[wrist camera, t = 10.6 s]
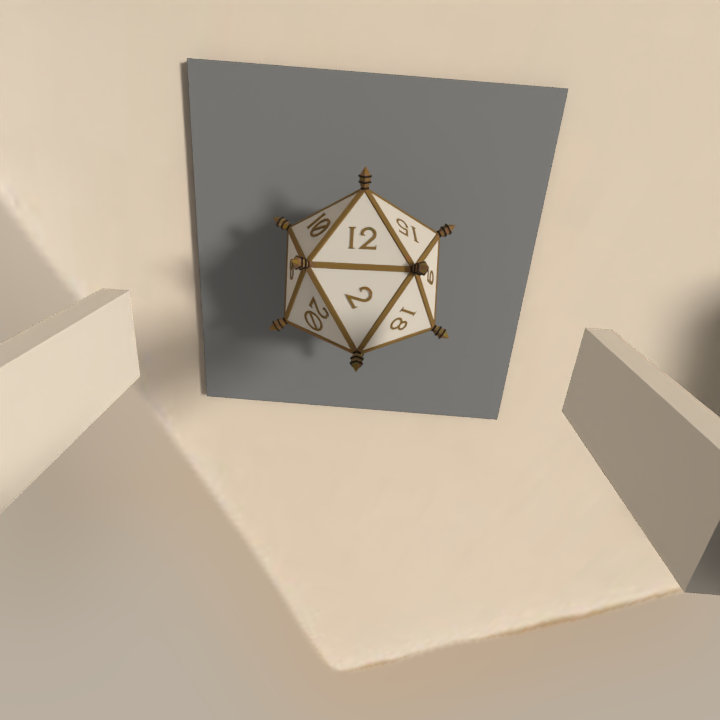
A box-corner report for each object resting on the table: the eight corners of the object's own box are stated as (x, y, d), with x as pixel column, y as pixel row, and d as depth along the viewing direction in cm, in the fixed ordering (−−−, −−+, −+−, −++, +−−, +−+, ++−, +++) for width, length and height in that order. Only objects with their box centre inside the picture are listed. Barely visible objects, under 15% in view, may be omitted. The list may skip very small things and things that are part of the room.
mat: (190, 59, 23) (186, 57, 23) (564, 89, 23) (568, 88, 23) (209, 392, 31) (207, 396, 30) (495, 415, 31) (497, 419, 30)
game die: (376, 277, 31) (370, 427, 26) (253, 212, 26) (217, 377, 21) (489, 189, 24) (509, 366, 19) (349, 84, 20) (330, 278, 15)
